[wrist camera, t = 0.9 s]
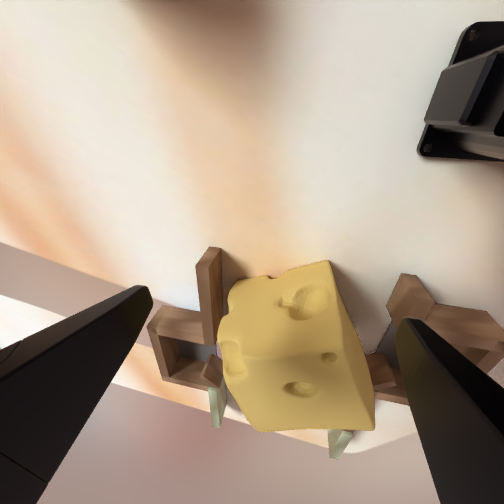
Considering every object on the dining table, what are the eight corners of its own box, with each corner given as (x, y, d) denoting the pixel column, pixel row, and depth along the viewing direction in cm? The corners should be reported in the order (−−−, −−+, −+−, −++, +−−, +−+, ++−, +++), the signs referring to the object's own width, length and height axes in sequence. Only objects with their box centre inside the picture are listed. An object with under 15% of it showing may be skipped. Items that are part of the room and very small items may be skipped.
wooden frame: (505, 287, 19) (546, 322, 16) (381, 440, 35) (388, 472, 32) (147, 237, 24) (122, 256, 21) (182, 392, 40) (171, 416, 37)
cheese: (233, 278, 25) (197, 362, 16) (334, 253, 21) (355, 346, 12) (269, 341, 29) (255, 434, 20) (359, 330, 25) (387, 439, 16)
